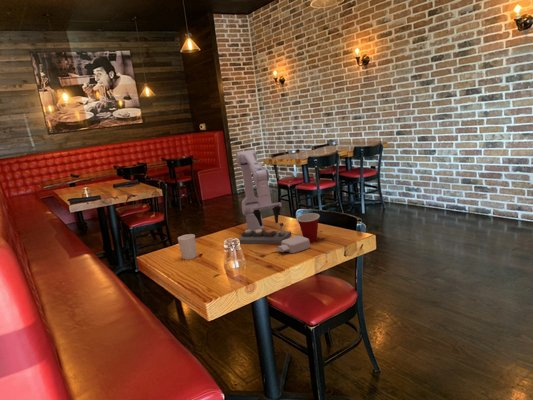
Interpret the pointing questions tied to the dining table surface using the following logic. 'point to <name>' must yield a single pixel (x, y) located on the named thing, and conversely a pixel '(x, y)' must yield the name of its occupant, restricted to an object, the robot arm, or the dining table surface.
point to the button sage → (248, 231)
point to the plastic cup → (309, 225)
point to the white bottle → (294, 244)
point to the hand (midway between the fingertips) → (269, 224)
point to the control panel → (264, 237)
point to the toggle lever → (281, 227)
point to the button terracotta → (269, 231)
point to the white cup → (187, 246)
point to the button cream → (258, 231)
